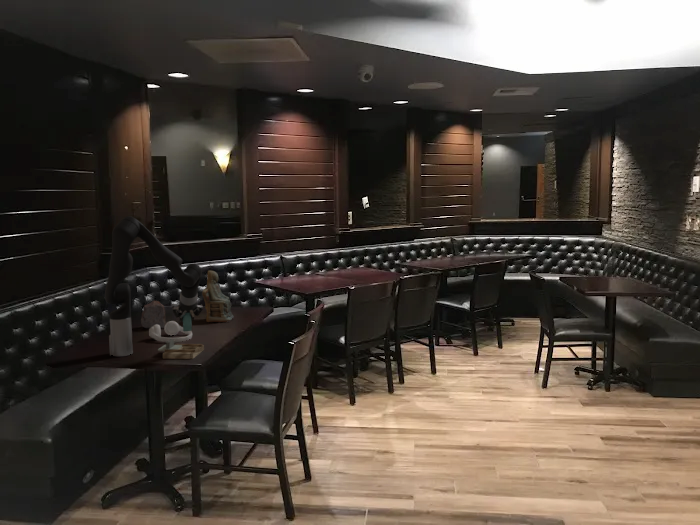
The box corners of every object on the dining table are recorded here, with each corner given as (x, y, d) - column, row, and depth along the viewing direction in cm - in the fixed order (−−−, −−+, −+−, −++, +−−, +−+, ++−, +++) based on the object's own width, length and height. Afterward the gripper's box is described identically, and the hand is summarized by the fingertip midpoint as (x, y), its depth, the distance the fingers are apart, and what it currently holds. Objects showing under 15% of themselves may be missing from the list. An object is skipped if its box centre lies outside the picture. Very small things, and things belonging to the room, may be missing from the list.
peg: (182, 331, 270) (181, 307, 269) (184, 329, 274) (183, 306, 273) (190, 331, 270) (189, 307, 269) (192, 329, 274) (191, 306, 273)
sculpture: (227, 324, 336) (225, 273, 333) (200, 324, 336) (198, 273, 333) (236, 316, 360) (235, 268, 357) (211, 316, 361) (209, 268, 357)
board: (162, 358, 265) (162, 351, 265) (175, 349, 281) (175, 342, 281) (193, 358, 264) (192, 351, 264) (204, 349, 280) (203, 342, 280)
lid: (158, 351, 269) (157, 342, 268) (164, 346, 277) (164, 338, 277) (175, 351, 268) (175, 343, 268) (182, 346, 277) (181, 338, 276)
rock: (173, 326, 333) (172, 300, 331) (158, 330, 322) (157, 303, 320) (154, 324, 339) (153, 298, 337) (139, 328, 328) (138, 302, 326)
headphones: (144, 339, 300) (171, 348, 290) (144, 324, 299) (172, 333, 289) (173, 332, 317) (200, 340, 307) (174, 318, 316) (201, 325, 306)
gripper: (172, 306, 256) (171, 327, 269) (205, 303, 261) (203, 325, 274) (171, 292, 261) (170, 314, 273) (203, 290, 266) (201, 312, 278)
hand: (186, 319), depth 274 cm, fingers closed on peg, 3 cm apart
